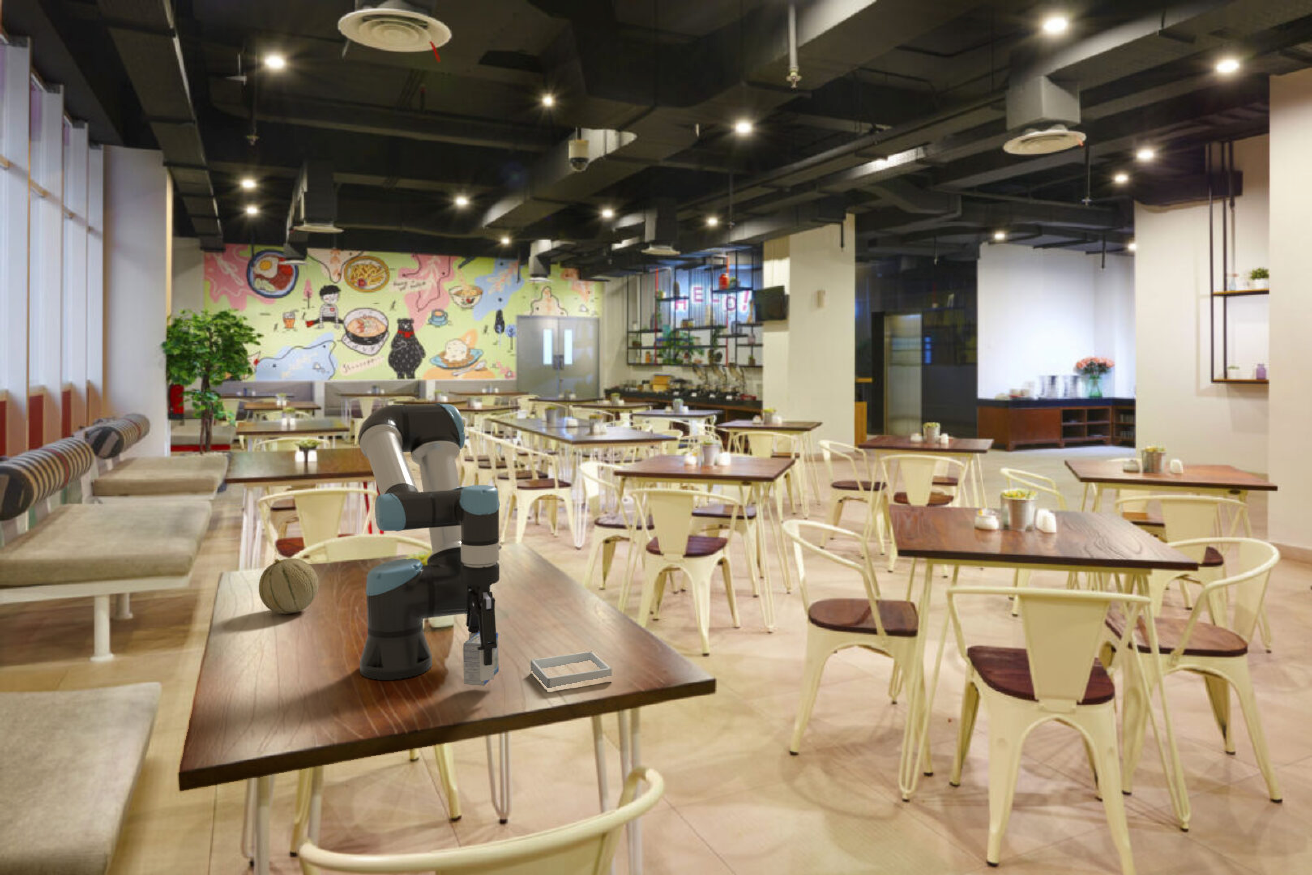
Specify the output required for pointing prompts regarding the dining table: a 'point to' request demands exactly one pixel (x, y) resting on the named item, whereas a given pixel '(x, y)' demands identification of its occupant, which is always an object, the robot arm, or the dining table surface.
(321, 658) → the dining table surface
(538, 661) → the walled tray
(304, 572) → the cantaloupe
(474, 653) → the medicine box
